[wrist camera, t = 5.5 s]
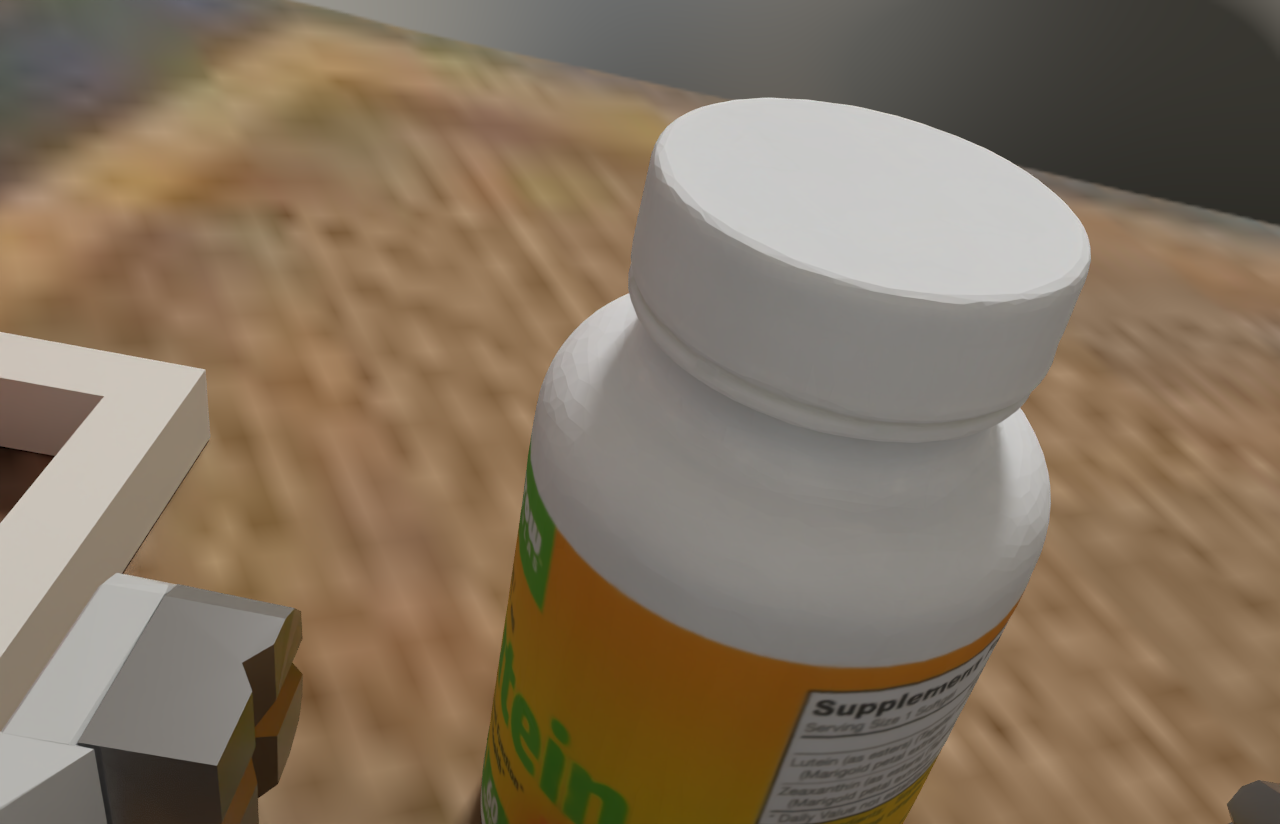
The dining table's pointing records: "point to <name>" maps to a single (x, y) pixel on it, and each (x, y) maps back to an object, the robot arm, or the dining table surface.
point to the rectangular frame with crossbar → (83, 483)
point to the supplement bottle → (782, 478)
